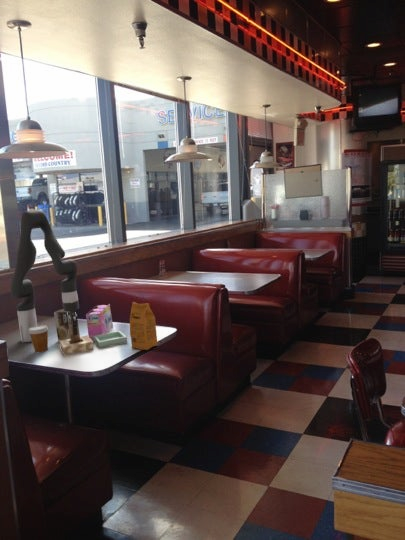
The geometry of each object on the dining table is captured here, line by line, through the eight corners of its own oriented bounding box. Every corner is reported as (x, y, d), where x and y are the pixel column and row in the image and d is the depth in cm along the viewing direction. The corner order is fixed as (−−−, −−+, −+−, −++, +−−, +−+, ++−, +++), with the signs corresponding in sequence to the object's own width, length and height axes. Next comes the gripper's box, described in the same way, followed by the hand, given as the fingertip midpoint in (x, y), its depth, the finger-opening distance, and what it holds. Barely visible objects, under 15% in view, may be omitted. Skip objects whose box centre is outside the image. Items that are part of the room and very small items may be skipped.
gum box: (100, 326, 288) (97, 304, 286) (113, 326, 287) (111, 303, 285) (88, 339, 264) (85, 314, 262) (103, 338, 264) (99, 313, 262)
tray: (99, 348, 245) (99, 342, 245) (94, 341, 258) (93, 336, 258) (127, 342, 251) (126, 336, 250) (120, 336, 264) (119, 330, 263)
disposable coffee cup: (40, 354, 244) (36, 330, 242) (27, 352, 249) (23, 329, 248) (55, 348, 252) (51, 325, 250) (42, 346, 257) (39, 324, 256)
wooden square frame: (64, 355, 239) (63, 347, 238) (60, 348, 252) (59, 340, 251) (93, 349, 244) (92, 341, 244) (88, 342, 257) (87, 335, 256)
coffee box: (78, 338, 268) (74, 309, 265) (70, 341, 262) (66, 312, 259) (65, 337, 271) (61, 308, 269) (57, 341, 266) (53, 311, 263)
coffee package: (143, 342, 249) (138, 299, 245) (160, 345, 241) (156, 301, 237) (128, 348, 241) (123, 304, 238) (145, 351, 233) (140, 306, 230)
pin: (72, 346, 245) (69, 322, 243) (70, 343, 249) (67, 320, 247) (81, 344, 247) (78, 320, 245) (79, 342, 251) (76, 319, 249)
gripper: (60, 299, 249) (64, 332, 252) (64, 304, 236) (69, 338, 239) (75, 296, 252) (79, 329, 255) (80, 301, 239) (85, 335, 242)
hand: (74, 333), depth 247 cm, fingers closed on pin, 4 cm apart
